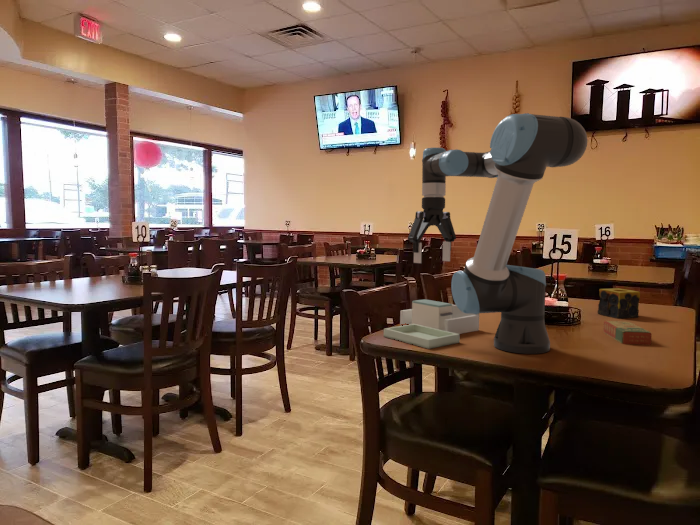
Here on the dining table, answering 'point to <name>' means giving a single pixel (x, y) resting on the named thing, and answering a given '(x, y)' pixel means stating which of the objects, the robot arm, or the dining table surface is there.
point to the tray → (422, 336)
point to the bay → (450, 320)
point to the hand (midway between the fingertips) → (432, 262)
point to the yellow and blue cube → (619, 303)
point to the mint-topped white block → (431, 313)
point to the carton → (627, 332)
